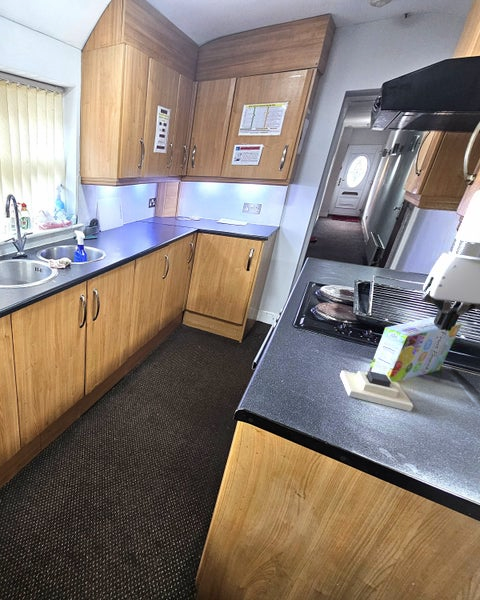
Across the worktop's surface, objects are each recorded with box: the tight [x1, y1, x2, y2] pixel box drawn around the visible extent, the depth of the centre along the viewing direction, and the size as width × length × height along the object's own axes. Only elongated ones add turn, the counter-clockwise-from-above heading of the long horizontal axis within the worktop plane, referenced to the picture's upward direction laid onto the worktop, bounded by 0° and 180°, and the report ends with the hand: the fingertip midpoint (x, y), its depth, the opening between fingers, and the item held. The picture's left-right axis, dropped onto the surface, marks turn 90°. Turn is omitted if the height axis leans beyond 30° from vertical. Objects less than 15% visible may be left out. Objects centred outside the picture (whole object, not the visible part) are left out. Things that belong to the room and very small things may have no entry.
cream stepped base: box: [339, 369, 414, 412], centre depth 83 cm, size 12×10×4 cm
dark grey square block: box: [366, 370, 391, 387], centre depth 82 cm, size 4×4×2 cm
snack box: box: [368, 316, 463, 383], centre depth 88 cm, size 21×6×15 cm, turn 107°
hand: (442, 327), depth 75 cm, fingers closed
